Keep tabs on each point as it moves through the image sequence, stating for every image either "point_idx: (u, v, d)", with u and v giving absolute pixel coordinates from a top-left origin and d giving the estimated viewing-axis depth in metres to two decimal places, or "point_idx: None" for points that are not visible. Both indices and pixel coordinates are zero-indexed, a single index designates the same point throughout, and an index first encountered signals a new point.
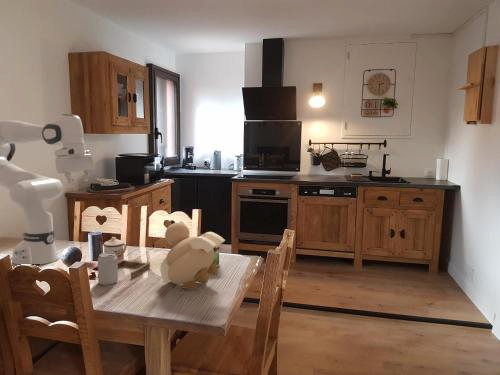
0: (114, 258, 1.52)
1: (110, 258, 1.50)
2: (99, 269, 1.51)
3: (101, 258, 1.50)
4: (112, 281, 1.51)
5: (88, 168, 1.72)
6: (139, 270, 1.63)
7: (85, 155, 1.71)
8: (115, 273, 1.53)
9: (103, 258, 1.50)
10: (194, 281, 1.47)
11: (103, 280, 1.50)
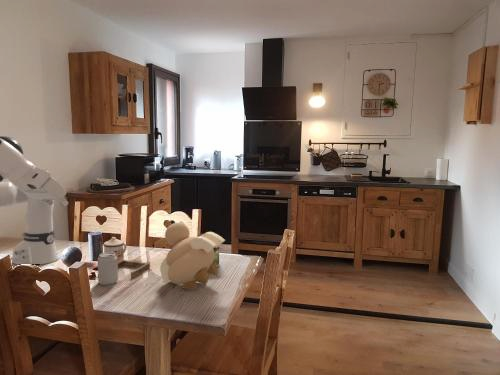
0: (114, 258, 1.52)
1: (110, 258, 1.50)
2: (99, 269, 1.51)
3: (101, 258, 1.50)
4: (112, 281, 1.51)
5: None
6: (139, 270, 1.63)
7: None
8: (115, 273, 1.53)
9: (103, 258, 1.50)
10: (194, 281, 1.47)
11: (103, 280, 1.50)
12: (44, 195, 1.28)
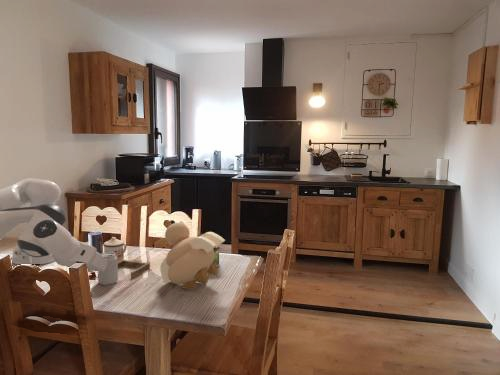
0: (114, 258, 1.52)
1: (110, 258, 1.50)
2: None
3: None
4: (112, 281, 1.51)
5: None
6: (139, 270, 1.63)
7: None
8: (115, 273, 1.53)
9: None
10: (194, 281, 1.47)
11: (103, 280, 1.50)
12: None
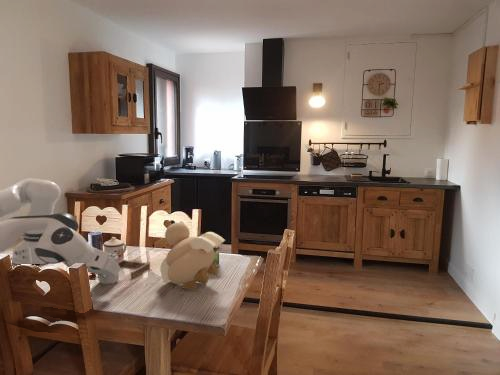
0: (115, 258, 1.52)
1: None
2: None
3: None
4: (113, 281, 1.52)
5: None
6: (139, 270, 1.63)
7: None
8: None
9: None
10: (194, 281, 1.47)
11: (104, 280, 1.51)
12: (98, 271, 1.42)
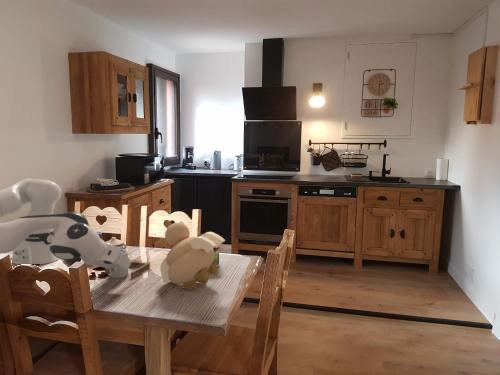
0: (125, 253, 1.59)
1: None
2: None
3: None
4: (124, 275, 1.59)
5: None
6: (139, 270, 1.63)
7: None
8: None
9: None
10: (194, 281, 1.47)
11: (115, 274, 1.57)
12: (110, 266, 1.49)
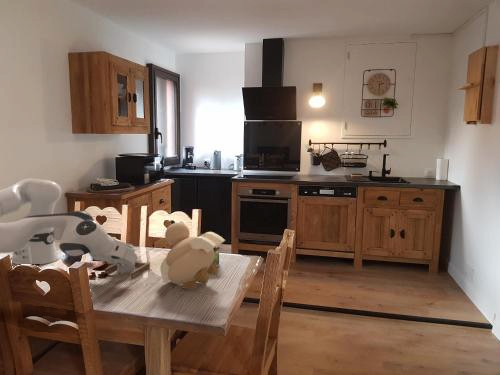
0: (132, 249, 1.65)
1: None
2: None
3: None
4: (130, 270, 1.64)
5: None
6: (139, 270, 1.63)
7: None
8: None
9: None
10: (194, 281, 1.47)
11: (122, 269, 1.63)
12: (117, 260, 1.55)
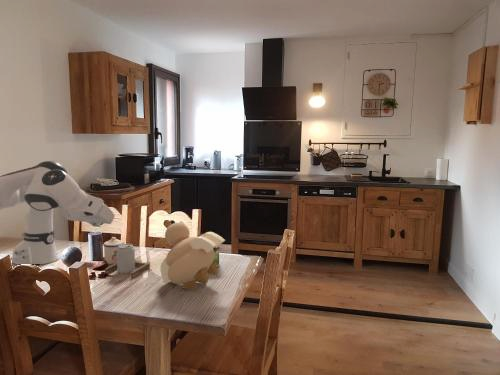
0: (132, 249, 1.65)
1: (129, 249, 1.63)
2: (118, 259, 1.63)
3: (120, 249, 1.63)
4: (130, 270, 1.64)
5: None
6: (139, 270, 1.63)
7: None
8: (133, 262, 1.65)
9: (122, 249, 1.62)
10: (194, 281, 1.47)
11: (122, 269, 1.63)
12: (92, 219, 1.39)
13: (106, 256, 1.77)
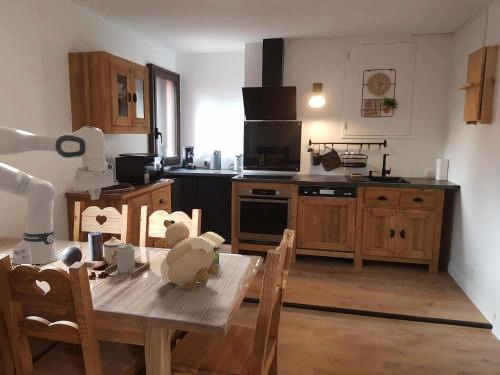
0: (132, 249, 1.65)
1: (129, 249, 1.63)
2: (118, 259, 1.63)
3: (120, 249, 1.63)
4: (130, 270, 1.64)
5: None
6: (139, 270, 1.63)
7: None
8: (133, 262, 1.65)
9: (122, 249, 1.62)
10: (194, 281, 1.47)
11: (122, 269, 1.63)
12: (102, 182, 1.58)
13: (106, 256, 1.77)
